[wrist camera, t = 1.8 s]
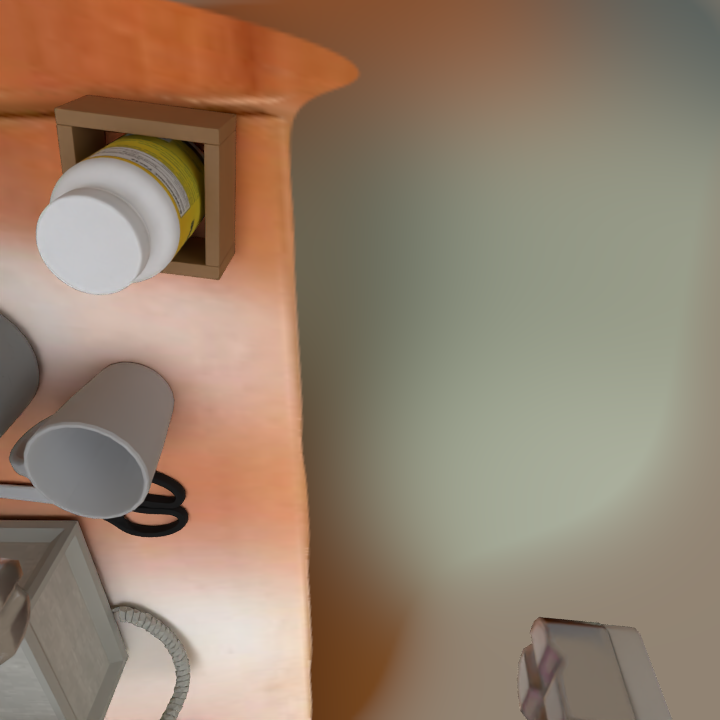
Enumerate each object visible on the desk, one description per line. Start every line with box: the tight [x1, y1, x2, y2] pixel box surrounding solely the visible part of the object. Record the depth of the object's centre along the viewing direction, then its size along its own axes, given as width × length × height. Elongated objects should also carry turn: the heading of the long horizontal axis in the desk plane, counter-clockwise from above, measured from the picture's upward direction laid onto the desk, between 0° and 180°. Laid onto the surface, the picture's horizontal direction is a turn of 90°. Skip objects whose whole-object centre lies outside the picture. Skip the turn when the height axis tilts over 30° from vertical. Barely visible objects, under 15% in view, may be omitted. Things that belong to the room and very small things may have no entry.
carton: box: [54, 95, 236, 280], centre depth 36 cm, size 8×8×4 cm
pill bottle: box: [36, 133, 205, 295], centre depth 33 cm, size 6×6×11 cm
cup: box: [9, 362, 174, 519], centre depth 42 cm, size 8×10×8 cm
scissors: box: [0, 472, 188, 537], centre depth 51 cm, size 7×1×20 cm
